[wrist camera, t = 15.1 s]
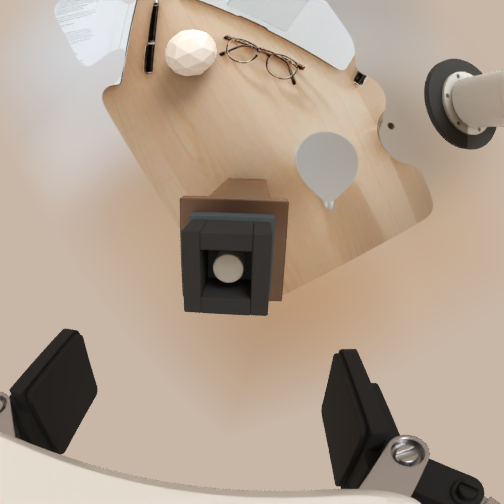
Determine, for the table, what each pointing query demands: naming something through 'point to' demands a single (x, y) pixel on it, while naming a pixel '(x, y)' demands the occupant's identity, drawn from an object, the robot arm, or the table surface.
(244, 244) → the dark grey square frame
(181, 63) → the geometric ball
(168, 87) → the table surface
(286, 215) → the stand
